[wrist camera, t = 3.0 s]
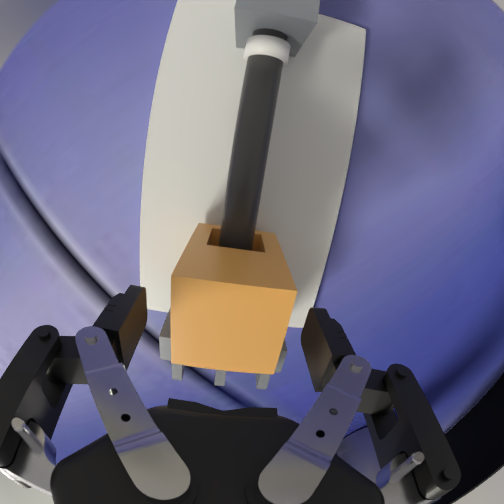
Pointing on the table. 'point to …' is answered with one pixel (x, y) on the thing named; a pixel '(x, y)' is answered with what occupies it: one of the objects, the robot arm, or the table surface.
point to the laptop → (478, 443)
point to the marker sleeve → (230, 303)
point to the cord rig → (249, 140)
